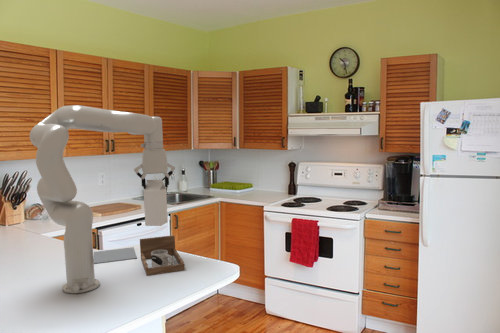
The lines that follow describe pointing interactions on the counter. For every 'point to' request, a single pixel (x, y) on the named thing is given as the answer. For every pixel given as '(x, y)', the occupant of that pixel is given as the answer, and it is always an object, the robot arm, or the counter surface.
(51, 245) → the counter surface
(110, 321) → the counter surface
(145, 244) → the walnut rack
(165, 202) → the milk carton
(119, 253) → the slate mat
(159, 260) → the mug
